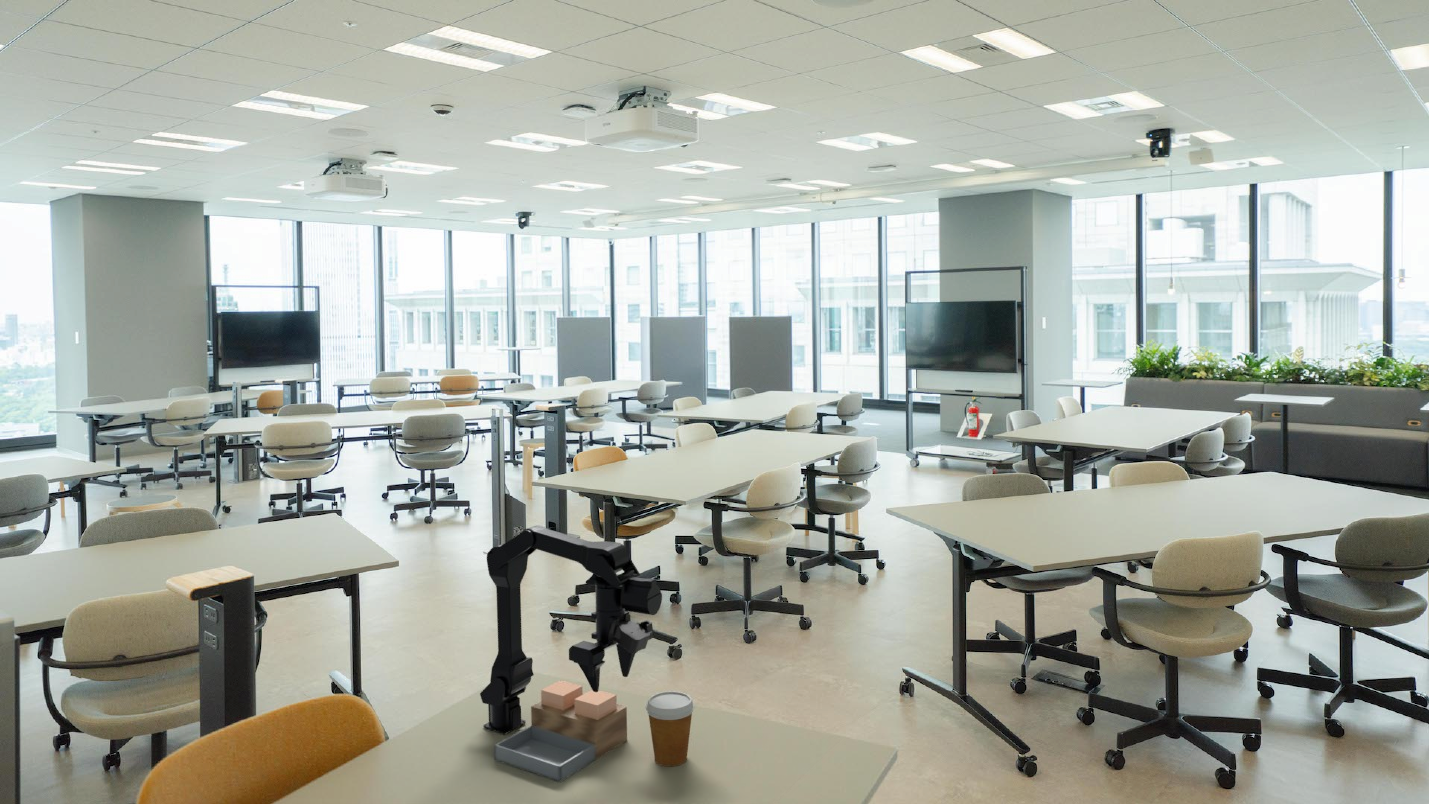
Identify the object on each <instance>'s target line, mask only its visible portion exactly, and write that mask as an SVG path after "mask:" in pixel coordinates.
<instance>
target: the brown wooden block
mask: <svg viewBox="0 0 1429 804" xmlns="http://www.w3.org/2000/svg"><path fill="white" fill-rule="evenodd" d="M627 708H628V706H625V705H621V704H619V703H618V704H617V709H616V710H615V711H613V712H611V713H609V714H608V715H606V716H604V717H602V718H601V719H599V720H596V719H592V718H589V717H585V716H582V715H578V714H575V704H574V705H572V706H571V707H569V708H567V709H565V710H561V709H557V708H553V707H550V706H546V705H543V704H541V701H539V702H537V703H535V704H534V705H531V706H530V714H531V725H532V726H535V727H539V728H542V729H545V730H549V731H552V732H555V733H559V734H562V735H565V736H569V737H572V738H575V739H579V740H582V741H585V742H588V743H592V744H595V745H596V760H598V759H599V758H600V757H602V756H604V755H605V754H607V753H608V752H610V751H612V750H613V749H615V748H616V747H619V746H620V745H622V744H623V743H624V742H626V741H627V740H628V717H627V716H628V714H627V712H628V710H627Z"/></svg>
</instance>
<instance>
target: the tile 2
mask: <svg viewBox="0 0 1429 804" xmlns="http://www.w3.org/2000/svg"><path fill="white" fill-rule="evenodd" d="M574 703H575V714H578V715H582V716H585V717H589V718H592V719H596V720H599V719H601V718H602V717H604V716H606V715H608V714H609V713H611V712H613V711H615V710H616V709H617V694H613V693H610V692H606V691H603V690H600V689H599V690H598V692H594V691H593V690H592V689H591V690H589V691H588V692H585V693H583V695H581V696H579V697H577V698H576V699H574Z"/></svg>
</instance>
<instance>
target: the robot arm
mask: <svg viewBox="0 0 1429 804" xmlns="http://www.w3.org/2000/svg"><path fill="white" fill-rule="evenodd" d="M536 551H541V552H544V553H547V554H551V555H554V556H558V557H560V558H563V559H567V560H570V561H572V562H576V563H578V564H579V565H581V566H582V567H583V568H584V569H585V570H586V571H587V572H589V573H591V576H590V577H589V578H588V579H587V580H586V581H585V584H586V585H589V586H595V611H594V612H591V613H590V614H591V615H590V617H591V619H593V620H595V631H594V632H592V633H591V639H593V640H596V642H591V641H587V640H582V641H580V642H578V643H575V644H572V645H571V646H570V647H569V649H568V660H569V661H572V662H573V663H575V664H577V665H578V666H579V668H580V669H581V671H582V672H583V674H584V676H585V678H586V680H587V682H588V684H589V686H590V688H591V690H593V691H594V692H598V690H599V691H600V675H601V667H602V666H603V665H604V664H605V663H606V660H604V658H605V652H606V651H605V650H608V649H611V648H612V647H615V646H616V650H617V651H616V652H617V656H618V661H619V662H618V663H619V665H620V671H621V674H622V677H624V678H628V677H629V675H630V671H631V668H632V665H633V662H634V660H635V659H634V658H635V656H636V654H638V652H640V651H642V650H645V649H646V648H647V645H648V641H650V640H652V639H653V638H654V634H653V632H654V629H653V622H652V621H650V620H649V619H645V620H643V621H642V622H638V621H637V622H636V621H633V620H631V614H630V613H638V614H645V615H649V616H655V615H656V614H657V613H659V610H660V608H661V605H662V600H663V594H662V592H661V589H660V586H658V585H657V579H656V578H650V577H649V578H645V577H644V578H643V577H640V576H641V573H640V571H639V570H638V569H637V567H636V565H635V564H634V562H633V560H632V559H631V557H630V554H629V552H628V550H627V548H626V545H624V544H623V543H621V542H617V541H616V542H615V541H614V542H613V541H606V540H604V541H600V540H599V541H591V540H585V539H582V538H579V537H576V536H572V535H568V534H566V533H563V532H559V531H555V530H552V529H549V528H546V527H545V526H543V525H534V526H531V527H527V528H525V529H523V530H522V531H521V532H520V533H519V534H518V535H516V536H514V537H513V538H512V539H510V540H508V541H507V542H504V543H501V544H499V545H495V546H493V547H491V548H490V549H489V551H488V552H487V554H486V564H487V571H488V575H489V577H490V579H491V580H492V582H493V583H494V585H495V588H496V591H495V592H496V618H497V619H496V620H497V654H496V657H495V660H494V662H493V664H492V667H491V673H490V679H489V680H490V682H489V683H488V684H487V686H485V688H483V690H482V691H480V693H479V696H480V699H481V703H482V704H484V705H485V704H486V705H488V708H487V709H488V710H487V711H488V722H486V723H485V724H483V729H487V730H491V731H493V732H496V733H500V734H502V735H506V734H508V733H510V732H512V731H514V730H516V729H517V728H519V727H521V726H523V725H525V724H526V720H525V719H522V705H521V704H520V701H521V698H520V697H519V695H521V694H524V693H525V692H526V689H527V686H528V685H529V684H530V683H531V681H532V677H533V676H534V675H535V674H534V671H533V662H534V661H533V657H527V655H526V654H525V651H523V640H522V639H523V638H522V637H523V636H522V634H523V633H522V607H521V606H522V603H521V595H522V594H521V584H522V581H523V579H524V577H525V574H526V571H527V569H528V568H527V567H528V559H529V556H531V555H532V554H533V553H535V552H536ZM621 571H623V572H622V573H619V572H621ZM617 573H619V574H617Z"/></svg>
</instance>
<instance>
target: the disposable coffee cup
mask: <svg viewBox="0 0 1429 804" xmlns="http://www.w3.org/2000/svg"><path fill="white" fill-rule="evenodd" d="M694 709H695V702H694V701H693V698H692V697H691V695H690V694H688V693H685V692H682V691H678V690H677V691H672V690H671V691H669V690H668V691H661V692H660V691H659V692H657V693H654V694H652V695H651V696H650V697H648V699H647V703H646V706H645V710H646V711H647V715H648V722H649V727H650V735H651V742H652V747H653V748H652V749H653V755H654V761H655V763H656V764H658V765H660V766H664V767H677V766H680V765H682V764H684V763H686V762H687V758H688V750H689V743H690V741H689V740H690V731H691V724H692V717H693V716H692V715H693V712H694Z"/></svg>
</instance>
